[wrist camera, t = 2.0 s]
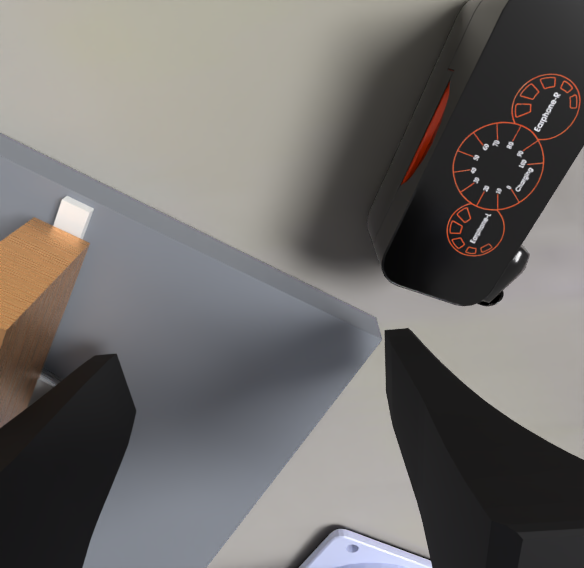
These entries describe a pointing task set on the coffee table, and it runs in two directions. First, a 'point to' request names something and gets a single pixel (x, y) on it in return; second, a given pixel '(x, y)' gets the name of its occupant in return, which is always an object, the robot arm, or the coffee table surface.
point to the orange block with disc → (33, 308)
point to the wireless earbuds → (483, 150)
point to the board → (185, 360)
